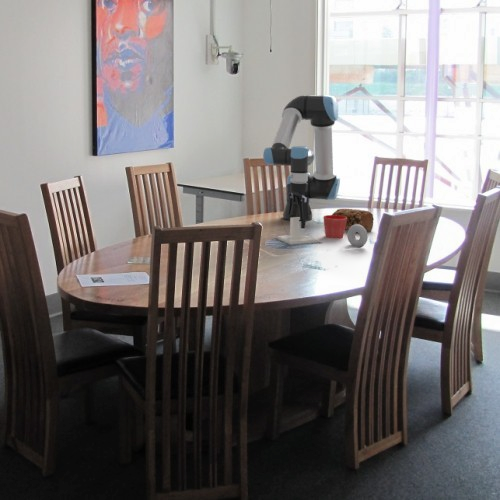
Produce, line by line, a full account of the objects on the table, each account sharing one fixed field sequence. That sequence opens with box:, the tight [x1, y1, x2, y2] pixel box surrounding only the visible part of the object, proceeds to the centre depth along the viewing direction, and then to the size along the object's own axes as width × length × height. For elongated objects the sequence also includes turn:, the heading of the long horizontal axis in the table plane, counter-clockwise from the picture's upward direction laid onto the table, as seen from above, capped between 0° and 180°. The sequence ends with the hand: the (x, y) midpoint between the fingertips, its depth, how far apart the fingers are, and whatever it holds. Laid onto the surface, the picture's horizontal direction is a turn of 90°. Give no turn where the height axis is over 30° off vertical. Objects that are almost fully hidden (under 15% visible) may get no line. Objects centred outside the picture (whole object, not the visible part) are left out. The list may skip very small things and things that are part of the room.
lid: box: [277, 217, 318, 244], centre depth 355 cm, size 13×13×10 cm
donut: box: [346, 224, 369, 248], centre depth 346 cm, size 10×4×10 cm, turn 47°
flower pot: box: [322, 214, 347, 239], centre depth 365 cm, size 11×11×10 cm
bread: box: [331, 208, 374, 233], centre depth 386 cm, size 19×11×10 cm, turn 38°
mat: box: [272, 237, 323, 247], centre depth 356 cm, size 18×16×1 cm
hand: (297, 233), depth 356 cm, fingers open, 8 cm apart
